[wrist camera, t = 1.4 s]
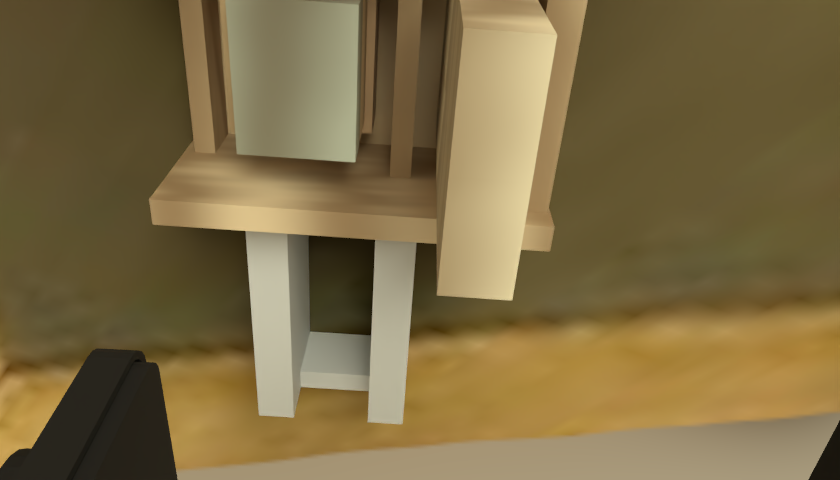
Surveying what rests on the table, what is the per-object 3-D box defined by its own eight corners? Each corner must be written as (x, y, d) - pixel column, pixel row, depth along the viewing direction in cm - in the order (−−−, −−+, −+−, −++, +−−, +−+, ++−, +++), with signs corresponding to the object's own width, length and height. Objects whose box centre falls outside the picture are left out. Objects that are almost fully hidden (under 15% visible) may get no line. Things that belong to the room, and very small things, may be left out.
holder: (419, 173, 31) (417, 230, 27) (406, 352, 36) (402, 424, 32) (270, 162, 31) (244, 218, 27) (279, 344, 36) (258, 415, 32)
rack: (574, -119, 25) (618, -97, 19) (527, 166, 31) (549, 251, 25) (179, -149, 25) (97, -138, 19) (208, 143, 30) (153, 224, 24)
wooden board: (507, -56, 25) (557, 35, 15) (484, 127, 29) (512, 300, 18) (451, -60, 25) (463, 27, 15) (436, 123, 29) (437, 295, 18)
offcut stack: (382, -59, 25) (369, -30, 20) (375, 114, 28) (364, 173, 24) (242, -70, 25) (198, -43, 20) (253, 105, 28) (217, 163, 24)
